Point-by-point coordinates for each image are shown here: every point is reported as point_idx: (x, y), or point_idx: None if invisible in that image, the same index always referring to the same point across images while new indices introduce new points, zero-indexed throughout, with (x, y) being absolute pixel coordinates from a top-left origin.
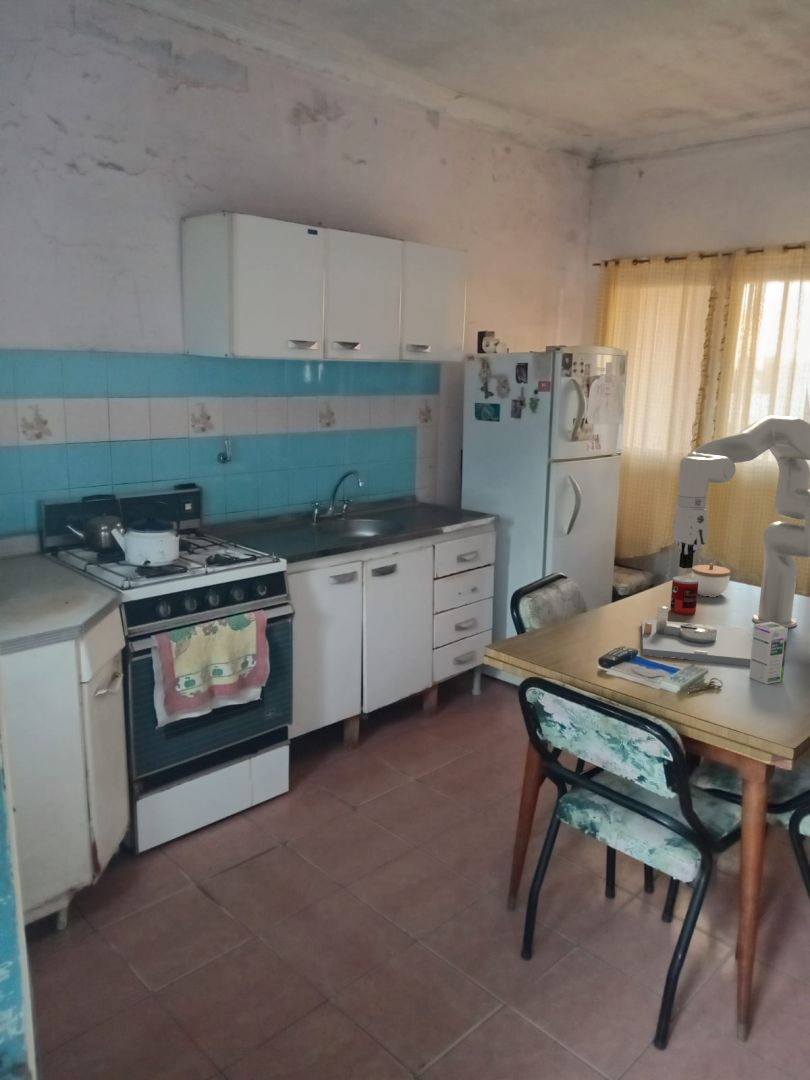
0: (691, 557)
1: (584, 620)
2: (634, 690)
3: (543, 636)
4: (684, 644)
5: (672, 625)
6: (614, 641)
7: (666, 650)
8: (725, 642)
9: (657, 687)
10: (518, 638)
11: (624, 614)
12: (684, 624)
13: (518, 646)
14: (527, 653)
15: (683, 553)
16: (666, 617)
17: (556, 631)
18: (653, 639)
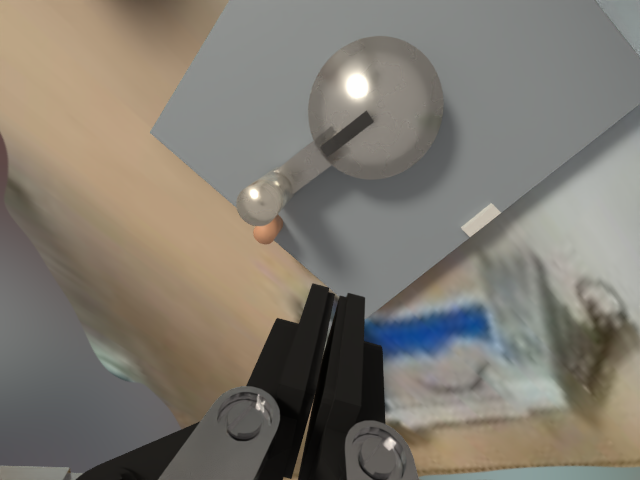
0: (381, 416)
1: (94, 244)
2: (502, 447)
3: (181, 384)
4: (397, 201)
5: (302, 169)
6: (256, 292)
7: (407, 283)
8: (460, 49)
9: (522, 411)
10: (180, 422)
11: (54, 98)
12: (310, 119)
13: None
14: None
15: (285, 472)
16: (285, 196)
17: (158, 347)
18: (322, 247)
